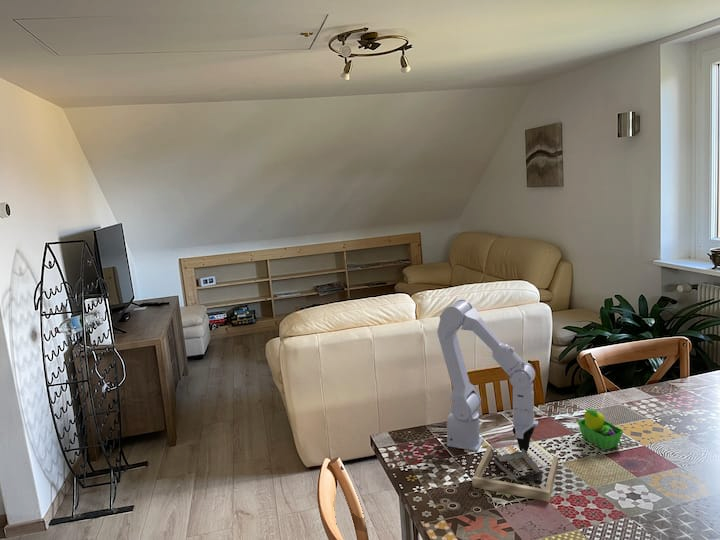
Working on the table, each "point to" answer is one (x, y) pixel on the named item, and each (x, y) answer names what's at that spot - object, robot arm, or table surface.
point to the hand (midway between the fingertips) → (524, 450)
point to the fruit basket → (599, 430)
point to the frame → (511, 487)
